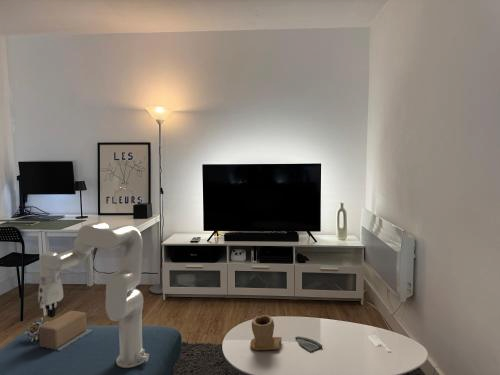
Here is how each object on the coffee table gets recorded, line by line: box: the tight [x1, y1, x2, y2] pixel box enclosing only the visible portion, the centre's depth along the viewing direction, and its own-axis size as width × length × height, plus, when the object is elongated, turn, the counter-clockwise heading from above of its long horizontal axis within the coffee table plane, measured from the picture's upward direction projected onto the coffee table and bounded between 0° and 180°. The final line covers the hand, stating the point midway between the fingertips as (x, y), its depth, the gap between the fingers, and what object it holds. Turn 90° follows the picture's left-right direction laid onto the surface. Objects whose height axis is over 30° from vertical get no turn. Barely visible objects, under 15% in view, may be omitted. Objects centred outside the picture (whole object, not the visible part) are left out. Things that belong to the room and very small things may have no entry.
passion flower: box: [24, 316, 49, 343], centre depth 171 cm, size 11×11×12 cm
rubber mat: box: [54, 328, 94, 352], centre depth 170 cm, size 12×20×1 cm, turn 161°
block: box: [38, 310, 87, 350], centre depth 169 cm, size 10×10×20 cm
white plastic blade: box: [367, 334, 392, 353], centre depth 163 cm, size 5×15×1 cm, turn 5°
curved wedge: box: [294, 336, 323, 353], centre depth 163 cm, size 8×14×2 cm, turn 31°
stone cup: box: [250, 314, 283, 351], centre depth 160 cm, size 15×12×15 cm
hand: (51, 316), depth 161 cm, fingers closed
